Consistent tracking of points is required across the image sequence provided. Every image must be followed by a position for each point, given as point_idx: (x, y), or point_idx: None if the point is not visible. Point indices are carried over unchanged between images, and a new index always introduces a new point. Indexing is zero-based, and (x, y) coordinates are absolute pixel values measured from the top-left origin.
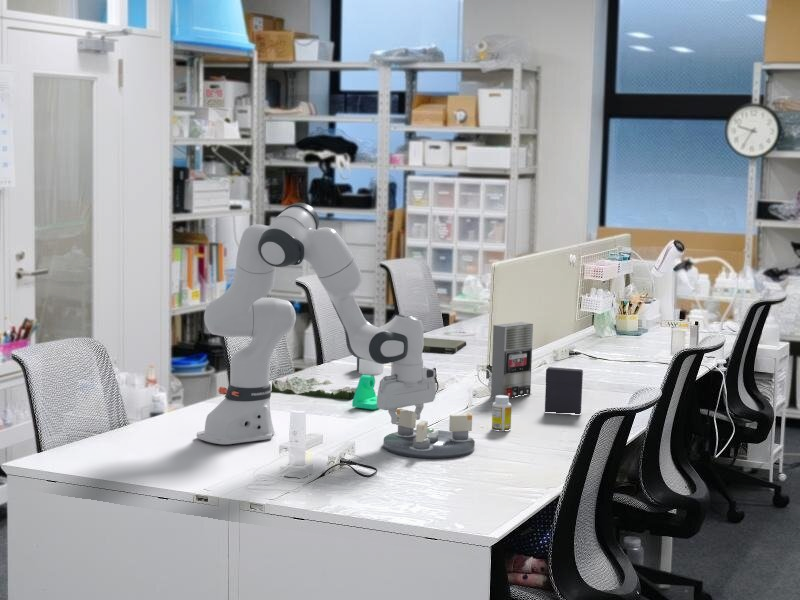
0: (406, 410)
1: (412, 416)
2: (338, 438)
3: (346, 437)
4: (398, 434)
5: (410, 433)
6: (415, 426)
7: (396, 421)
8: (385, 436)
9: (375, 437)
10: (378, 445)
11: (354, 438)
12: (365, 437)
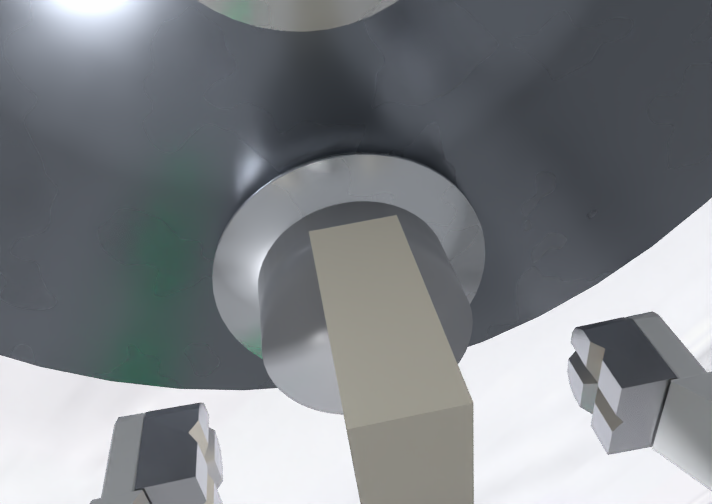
0: None
1: (432, 349)
2: (672, 464)
3: (615, 469)
4: None
5: (361, 209)
6: (312, 242)
7: (657, 336)
8: (594, 283)
9: None
10: None
11: None
12: (520, 436)
